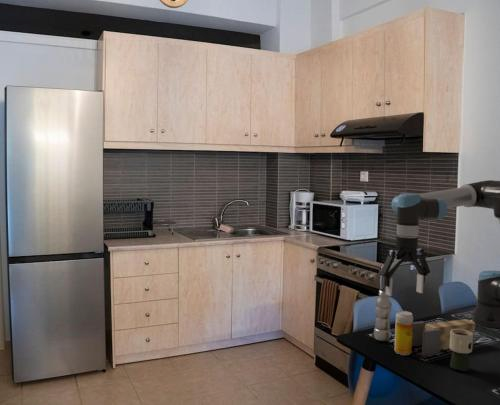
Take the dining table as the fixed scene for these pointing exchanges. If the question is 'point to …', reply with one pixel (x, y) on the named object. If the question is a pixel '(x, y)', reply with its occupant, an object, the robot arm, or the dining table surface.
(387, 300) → the plastic bottle
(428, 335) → the chute
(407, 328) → the beer can
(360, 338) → the dining table surface
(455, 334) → the character mug
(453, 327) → the tan wooden block
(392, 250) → the robot arm
